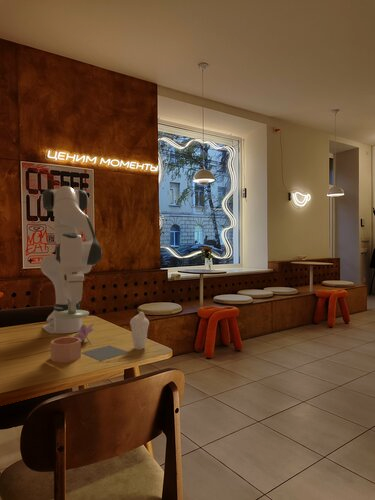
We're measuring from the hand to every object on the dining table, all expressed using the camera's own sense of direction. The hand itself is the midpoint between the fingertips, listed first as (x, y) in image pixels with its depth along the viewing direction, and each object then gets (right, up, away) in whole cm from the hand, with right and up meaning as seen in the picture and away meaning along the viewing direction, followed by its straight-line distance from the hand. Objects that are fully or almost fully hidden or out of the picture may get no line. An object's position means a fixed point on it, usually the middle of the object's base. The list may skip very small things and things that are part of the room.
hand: (71, 309), depth 140 cm
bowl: (-2, -19, 0) cm, 19 cm away
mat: (+12, -19, +6) cm, 23 cm away
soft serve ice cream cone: (+25, -19, +13) cm, 34 cm away
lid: (0, -2, 0) cm, 2 cm away
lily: (-1, -19, +19) cm, 27 cm away
